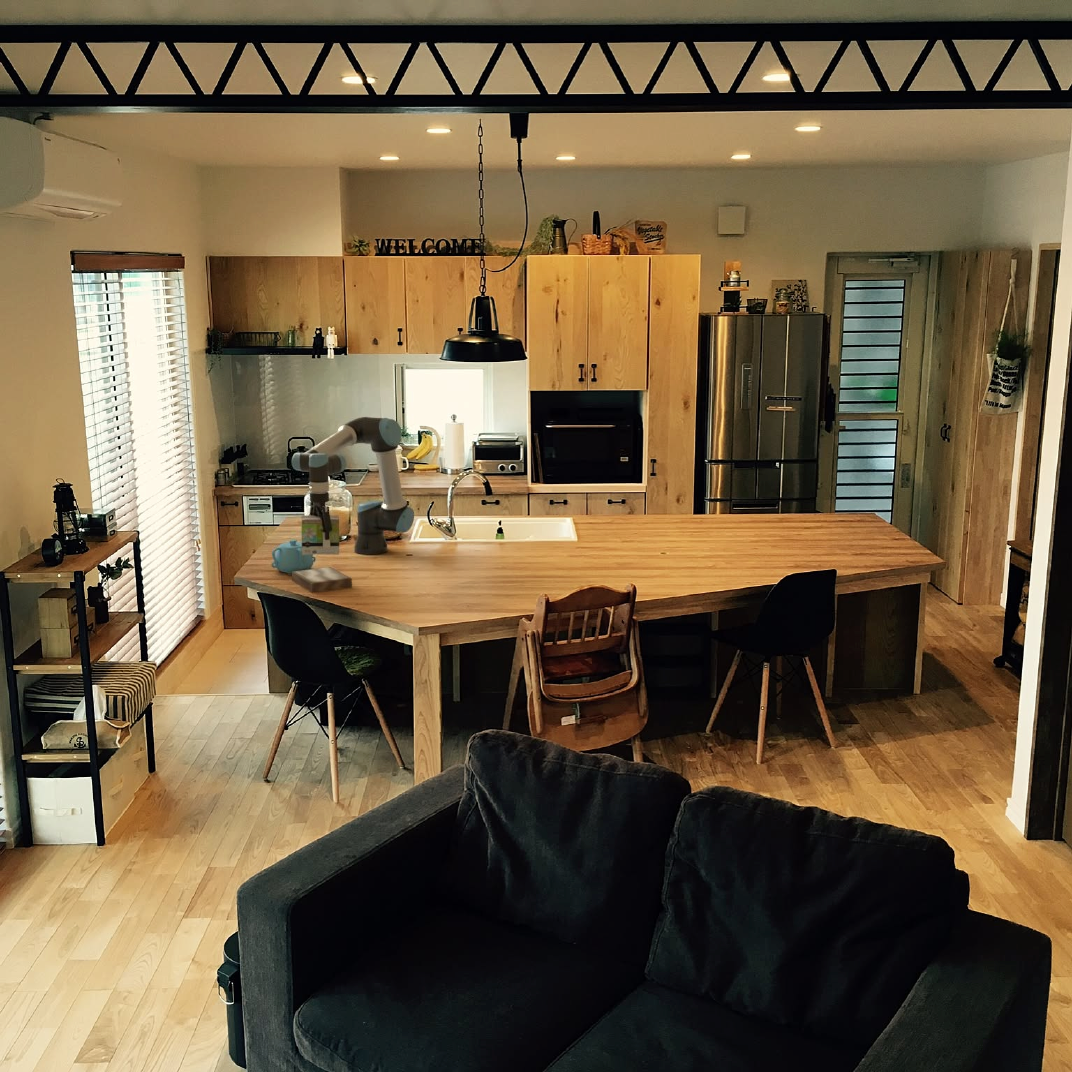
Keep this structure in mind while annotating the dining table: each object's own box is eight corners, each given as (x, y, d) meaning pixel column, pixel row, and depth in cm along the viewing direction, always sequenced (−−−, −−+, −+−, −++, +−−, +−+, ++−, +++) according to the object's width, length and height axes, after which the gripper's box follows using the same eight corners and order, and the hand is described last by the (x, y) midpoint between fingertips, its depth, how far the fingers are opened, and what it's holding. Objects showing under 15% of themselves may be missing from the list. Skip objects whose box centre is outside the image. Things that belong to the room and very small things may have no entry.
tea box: (301, 555, 457) (300, 519, 453) (301, 550, 466) (300, 514, 463) (339, 554, 460) (339, 518, 456) (339, 549, 469) (338, 514, 466)
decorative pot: (302, 577, 476) (301, 545, 473) (267, 574, 481) (266, 542, 478) (319, 568, 492) (319, 537, 489) (286, 565, 496) (285, 534, 493)
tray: (330, 575, 479) (330, 566, 479) (351, 587, 461) (351, 578, 460) (292, 580, 470) (291, 571, 470) (312, 593, 452) (311, 583, 451)
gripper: (299, 488, 465) (300, 539, 470) (322, 497, 446) (323, 551, 450) (316, 486, 469) (317, 537, 474) (339, 495, 450) (341, 549, 454)
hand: (320, 544), depth 462 cm, fingers closed on tea box, 12 cm apart
